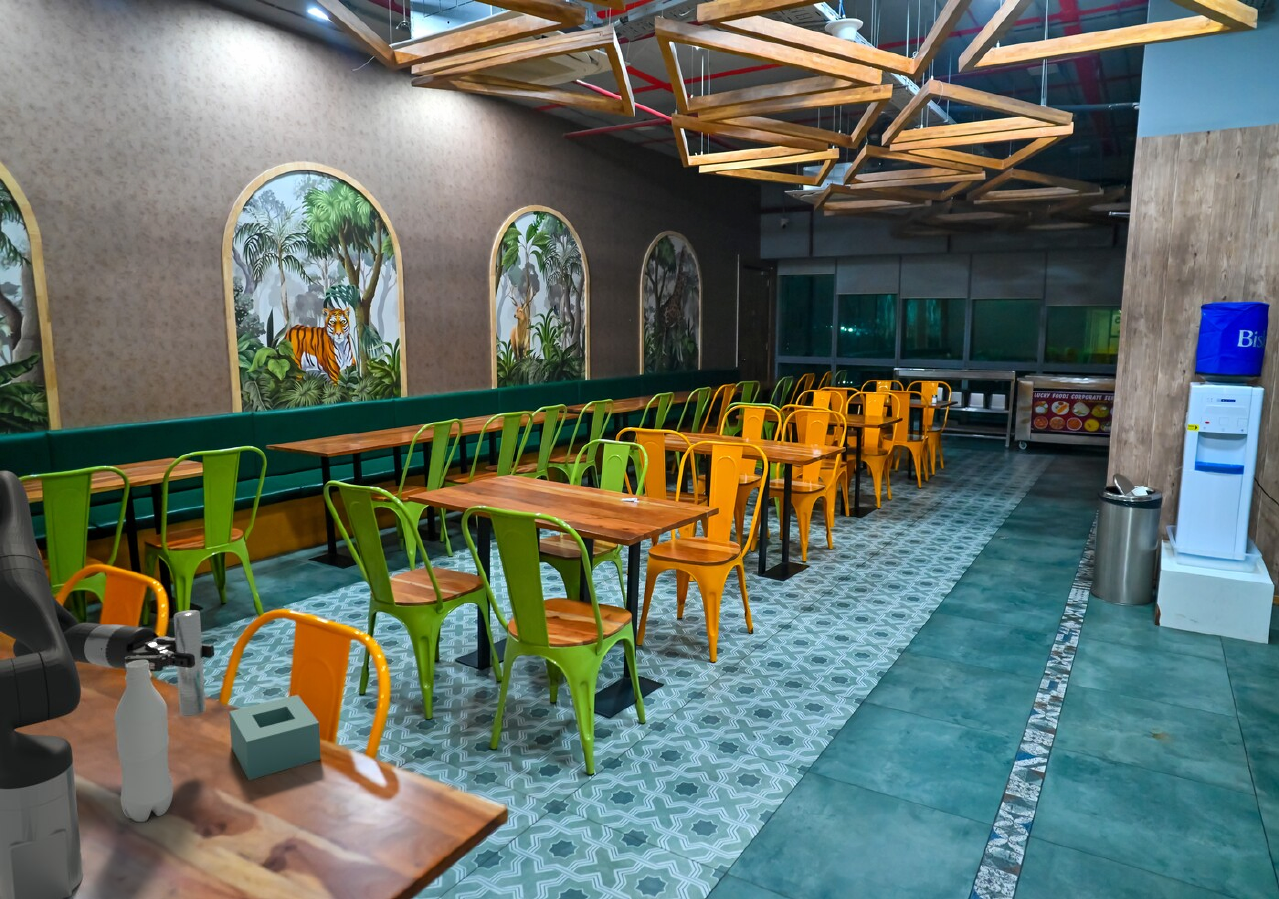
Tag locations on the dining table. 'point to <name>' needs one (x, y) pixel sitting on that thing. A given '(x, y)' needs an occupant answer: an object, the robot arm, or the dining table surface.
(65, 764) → the robot arm
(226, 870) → the dining table surface
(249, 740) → the well block
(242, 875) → the dining table surface
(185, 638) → the steel post
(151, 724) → the water bottle
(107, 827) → the dining table surface
